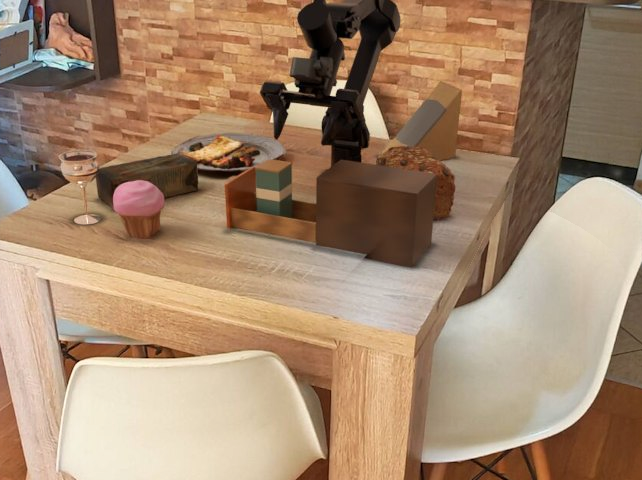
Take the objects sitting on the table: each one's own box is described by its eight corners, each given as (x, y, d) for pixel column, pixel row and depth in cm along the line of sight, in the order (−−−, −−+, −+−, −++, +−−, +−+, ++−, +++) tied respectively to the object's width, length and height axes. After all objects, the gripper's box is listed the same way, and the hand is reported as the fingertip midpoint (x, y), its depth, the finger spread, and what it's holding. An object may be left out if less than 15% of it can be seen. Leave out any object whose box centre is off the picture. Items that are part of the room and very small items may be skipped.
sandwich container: (377, 156, 185) (380, 87, 176) (434, 147, 190) (440, 80, 182) (397, 167, 178) (401, 96, 170) (455, 157, 184) (462, 88, 176)
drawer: (220, 229, 148) (217, 182, 144) (247, 209, 156) (245, 165, 152) (315, 247, 142) (316, 199, 137) (339, 226, 150) (340, 180, 145)
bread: (453, 219, 153) (458, 167, 148) (398, 224, 152) (402, 171, 146) (422, 185, 169) (425, 137, 163) (372, 189, 167) (374, 140, 161)
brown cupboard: (315, 249, 142) (316, 177, 135) (339, 227, 150) (341, 159, 143) (411, 267, 136) (417, 193, 129) (431, 244, 144) (437, 173, 137)
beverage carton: (201, 190, 166) (198, 158, 162) (113, 212, 156) (108, 178, 152) (181, 180, 171) (178, 148, 167) (96, 200, 161) (91, 167, 158)
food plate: (236, 186, 168) (236, 169, 166) (150, 166, 178) (148, 150, 176) (302, 154, 186) (302, 138, 184) (220, 137, 196) (219, 122, 194)
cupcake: (152, 248, 142) (146, 193, 136) (108, 242, 144) (100, 187, 139) (175, 229, 149) (170, 176, 143) (133, 223, 151) (126, 170, 146)
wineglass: (67, 215, 154) (56, 152, 148) (103, 210, 156) (94, 148, 150) (71, 228, 149) (60, 163, 143) (108, 223, 151) (99, 159, 145)
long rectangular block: (257, 226, 148) (254, 167, 142) (270, 217, 152) (268, 158, 146) (280, 231, 146) (279, 171, 140) (292, 221, 150) (292, 162, 144)
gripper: (263, 33, 146) (237, 110, 143) (361, 41, 140) (336, 122, 137) (281, 72, 157) (257, 144, 154) (374, 81, 151) (351, 156, 148)
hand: (298, 141), depth 148 cm, fingers open, 9 cm apart
